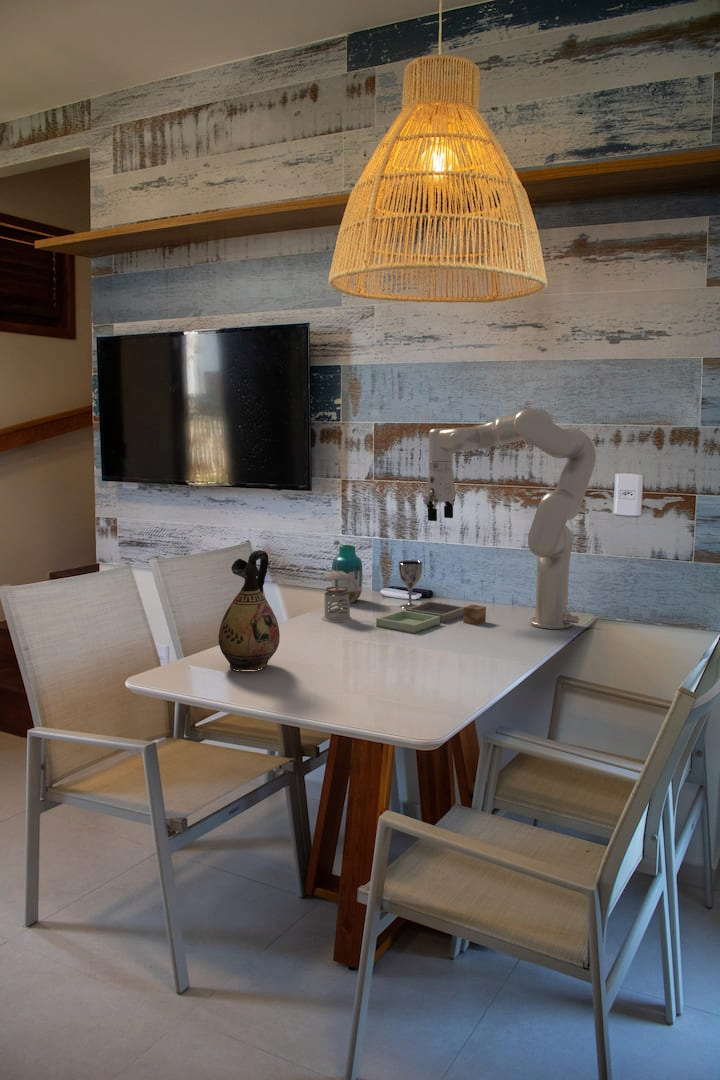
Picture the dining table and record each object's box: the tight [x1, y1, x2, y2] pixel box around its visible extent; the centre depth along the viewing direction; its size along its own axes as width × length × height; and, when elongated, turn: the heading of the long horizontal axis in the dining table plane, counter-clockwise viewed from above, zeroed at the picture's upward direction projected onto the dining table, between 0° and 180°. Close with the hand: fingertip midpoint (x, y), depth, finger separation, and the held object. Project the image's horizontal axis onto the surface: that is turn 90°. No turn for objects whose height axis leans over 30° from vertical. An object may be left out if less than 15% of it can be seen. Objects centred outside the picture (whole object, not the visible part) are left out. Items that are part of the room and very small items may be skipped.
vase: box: [331, 544, 364, 602], centre depth 298 cm, size 11×11×19 cm
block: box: [462, 604, 487, 626], centre depth 270 cm, size 5×5×5 cm
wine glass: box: [398, 559, 423, 610], centre depth 290 cm, size 8×8×15 cm
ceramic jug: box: [218, 549, 281, 670], centre depth 221 cm, size 17×15×30 cm
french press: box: [321, 540, 358, 624], centre depth 272 cm, size 10×12×25 cm
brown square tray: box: [405, 601, 465, 624], centre depth 278 cm, size 14×14×2 cm
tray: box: [375, 609, 441, 635], centre depth 265 cm, size 14×14×2 cm
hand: (440, 519), depth 284 cm, fingers open, 9 cm apart
